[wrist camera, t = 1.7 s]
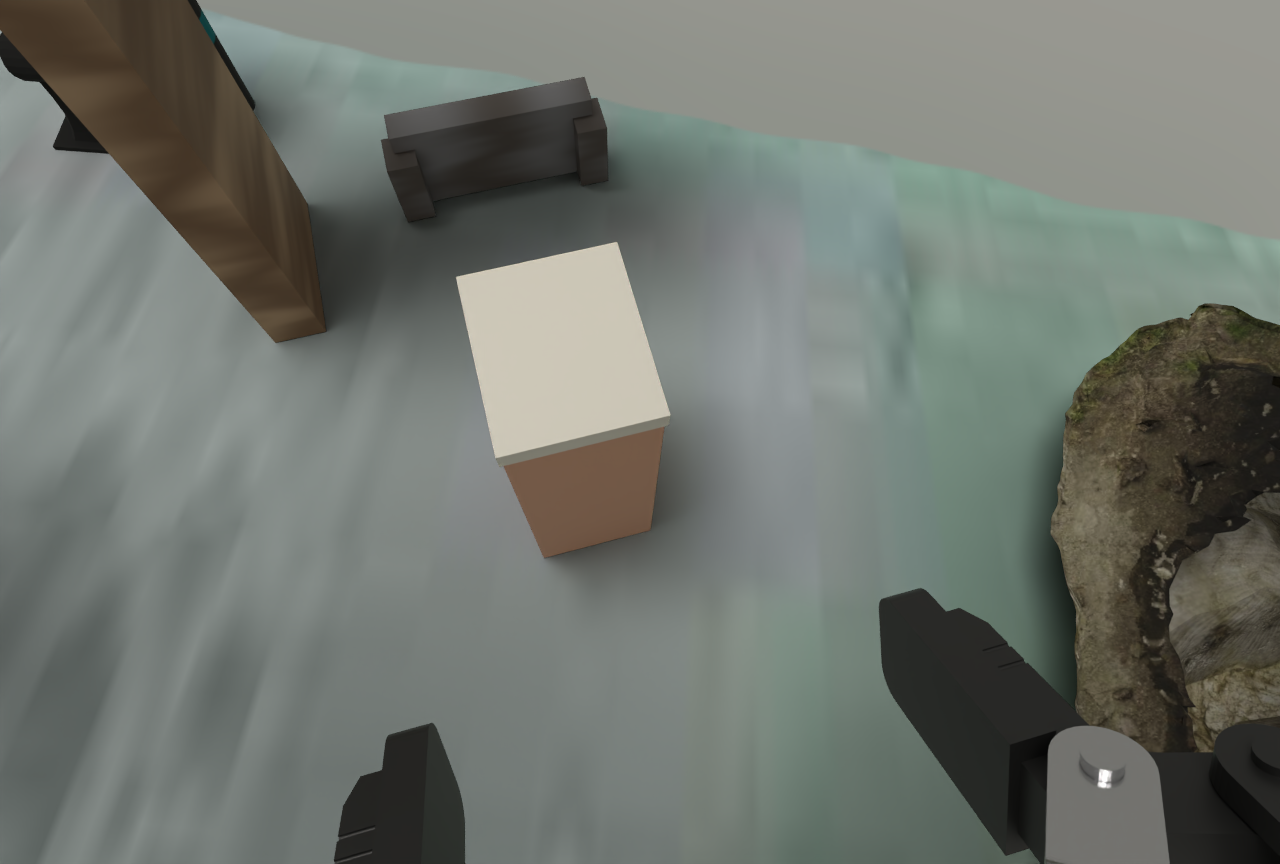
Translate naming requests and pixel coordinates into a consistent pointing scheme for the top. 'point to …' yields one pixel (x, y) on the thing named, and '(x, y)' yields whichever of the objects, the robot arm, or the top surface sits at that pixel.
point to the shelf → (245, 157)
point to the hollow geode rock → (1176, 531)
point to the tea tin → (569, 393)
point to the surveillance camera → (72, 128)
